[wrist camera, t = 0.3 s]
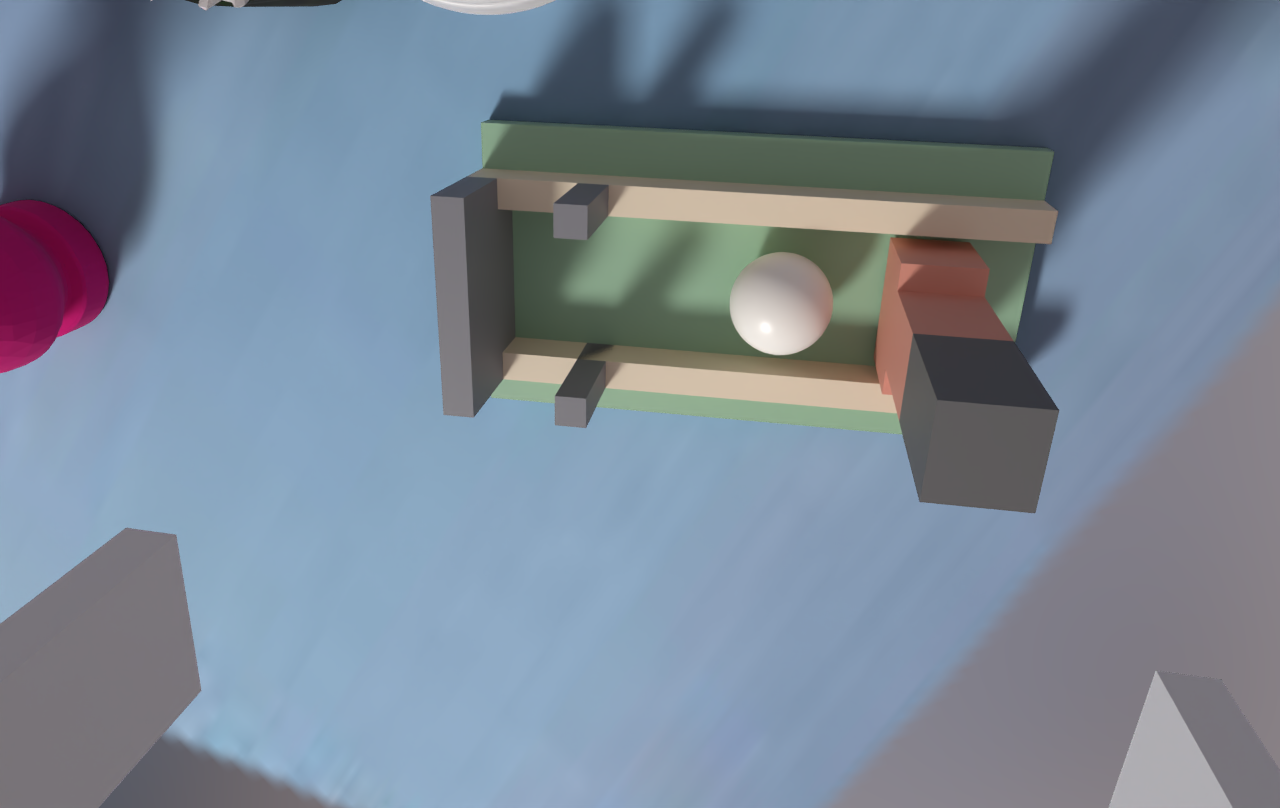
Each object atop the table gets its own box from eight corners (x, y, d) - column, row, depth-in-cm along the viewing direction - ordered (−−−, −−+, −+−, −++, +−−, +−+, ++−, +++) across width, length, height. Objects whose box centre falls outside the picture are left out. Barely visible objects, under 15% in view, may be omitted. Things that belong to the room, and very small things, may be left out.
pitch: (488, 119, 38) (426, 142, 32) (1047, 147, 35) (1103, 179, 29) (497, 389, 43) (446, 456, 36) (990, 432, 40) (1027, 513, 34)
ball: (736, 238, 37) (729, 263, 34) (836, 244, 37) (841, 270, 33) (729, 331, 39) (722, 365, 35) (825, 339, 38) (828, 374, 35)
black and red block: (890, 237, 36) (943, 364, 23) (969, 242, 36) (1067, 373, 23) (873, 356, 38) (914, 533, 25) (948, 363, 38) (1028, 545, 25)
